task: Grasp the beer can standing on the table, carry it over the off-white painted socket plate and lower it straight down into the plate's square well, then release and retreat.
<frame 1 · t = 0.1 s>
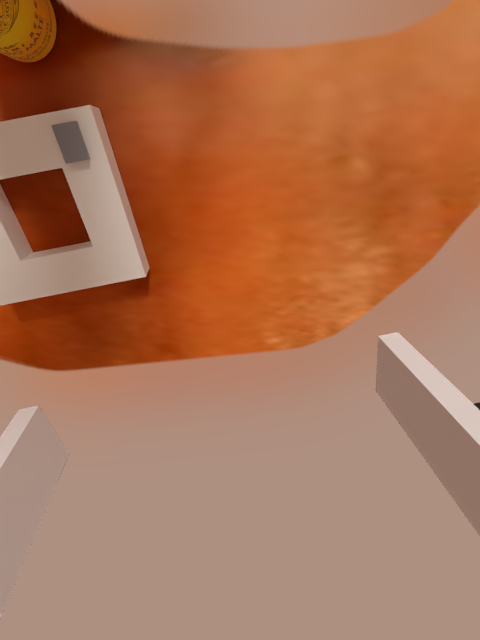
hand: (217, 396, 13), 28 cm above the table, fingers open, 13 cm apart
beer can: (22, 19, 28), on the table
socket plate: (52, 211, 35), on the table
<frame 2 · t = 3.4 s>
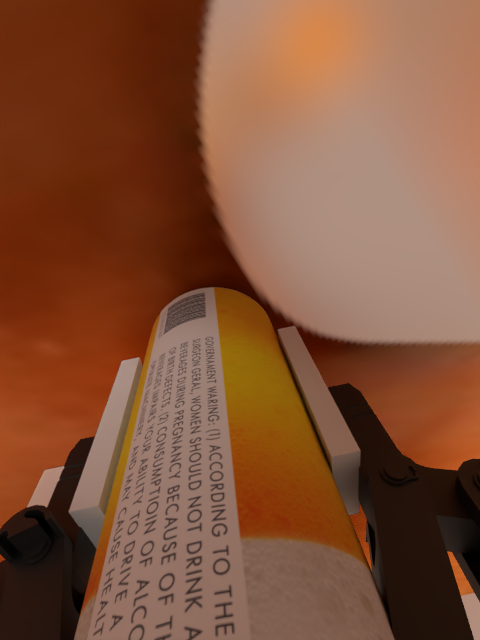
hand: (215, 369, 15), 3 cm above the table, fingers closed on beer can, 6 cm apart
beer can: (212, 333, 17), on the table, touching gripper
socket plate: (201, 517, 24), on the table
when the fingers open (5 cm above the table, at t = 7.8 s): beer can drops 2 cm, resting in socket plate.
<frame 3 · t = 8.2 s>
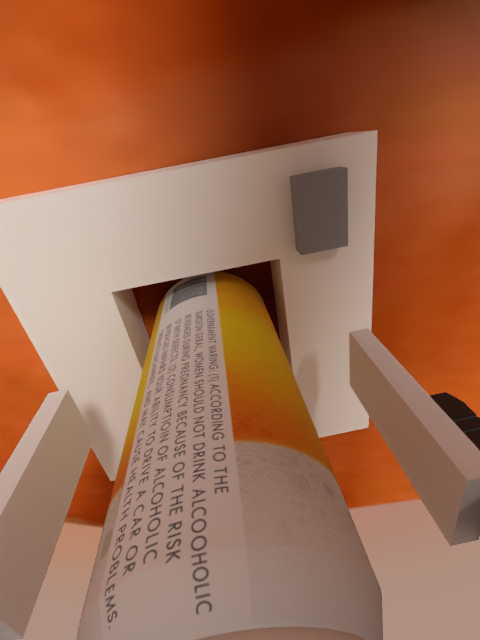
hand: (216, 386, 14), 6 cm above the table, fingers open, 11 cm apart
beer can: (212, 315, 19), resting in socket plate
socket plate: (211, 317, 19), on the table
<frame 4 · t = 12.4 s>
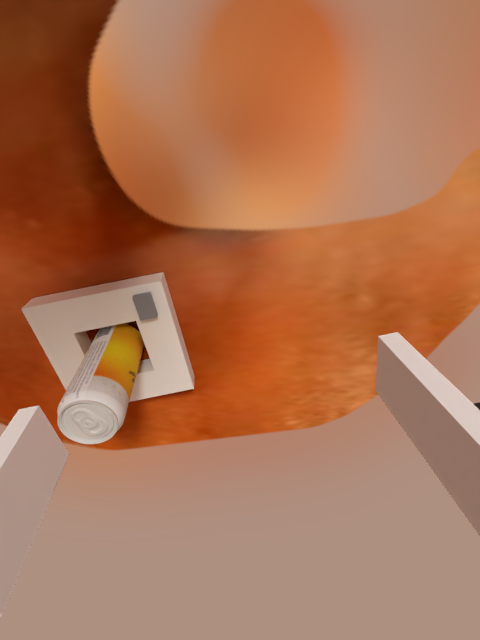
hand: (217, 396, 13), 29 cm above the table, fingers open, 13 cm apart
beer can: (121, 339, 44), resting in socket plate
socket plate: (120, 340, 44), on the table
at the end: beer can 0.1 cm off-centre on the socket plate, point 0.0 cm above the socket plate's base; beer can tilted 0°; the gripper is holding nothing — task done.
